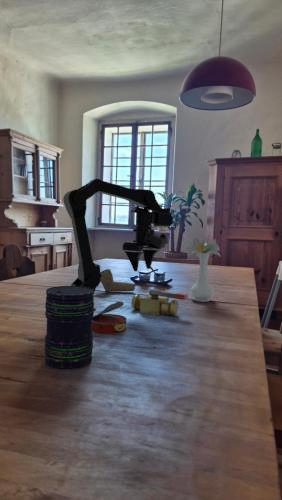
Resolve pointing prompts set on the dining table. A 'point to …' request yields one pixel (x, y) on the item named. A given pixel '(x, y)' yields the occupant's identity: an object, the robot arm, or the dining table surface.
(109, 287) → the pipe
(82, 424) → the dining table surface
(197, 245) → the flower vase
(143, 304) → the valve
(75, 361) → the storage jar
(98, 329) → the canned food
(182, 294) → the lever
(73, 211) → the robot arm
